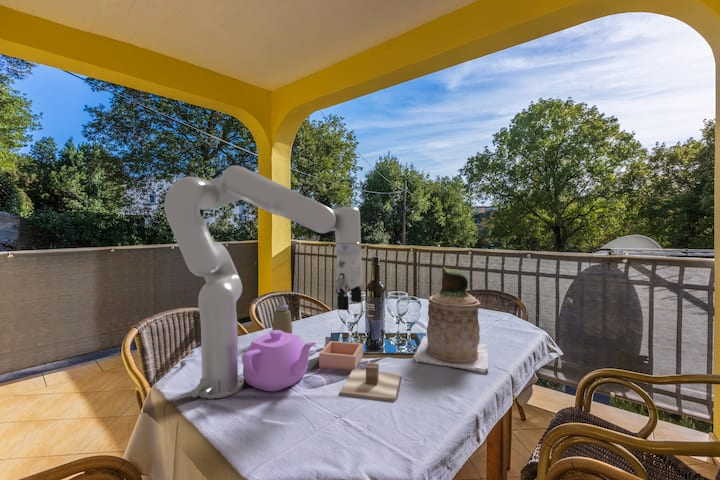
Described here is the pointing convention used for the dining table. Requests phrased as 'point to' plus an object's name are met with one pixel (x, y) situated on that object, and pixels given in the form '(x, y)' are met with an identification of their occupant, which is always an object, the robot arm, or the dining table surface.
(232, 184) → the robot arm
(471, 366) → the cookie jar
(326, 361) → the dish
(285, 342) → the teapot
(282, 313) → the squeeze bottle
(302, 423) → the dining table surface
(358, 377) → the lid
